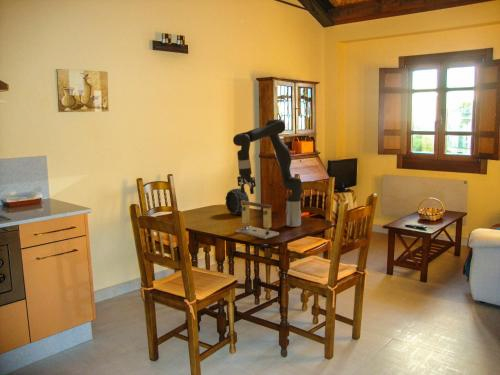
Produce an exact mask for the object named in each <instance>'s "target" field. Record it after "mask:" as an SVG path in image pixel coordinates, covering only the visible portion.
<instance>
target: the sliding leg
mask: <svg viewBox="0 0 500 375" xmlns="http://www.w3.org/2000/svg"><path fill="white" fill-rule="evenodd" d="M250 209H251V208H250V205H244V204H243V205H242V208H241V210H242V214H241V223H242V224H244V227H245V229H247V227H248V224H250V223H251V222H250V219H251V218H250V212H251V211H250Z"/></svg>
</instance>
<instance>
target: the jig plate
mask: <svg viewBox="0 0 500 375" xmlns="http://www.w3.org/2000/svg"><path fill="white" fill-rule="evenodd" d="M235 232H236V233H239V234H243V235H247V236H252V237H256V238H260V239H265V240H266V239H269V238H273V237H275V236H279V235H280V232H278V231H274V230H270V229H269V233H266V228H260V227H256V226H251V225H249V226H248V225H247V229H245V226H244V227H242V228H236V229H235Z"/></svg>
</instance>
